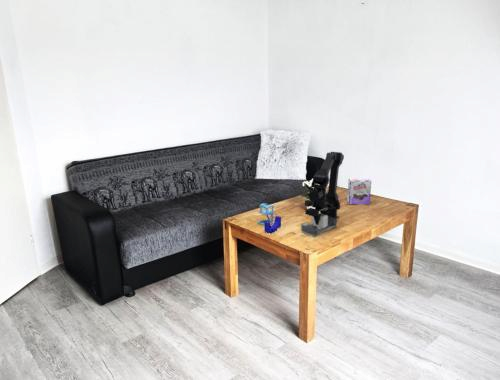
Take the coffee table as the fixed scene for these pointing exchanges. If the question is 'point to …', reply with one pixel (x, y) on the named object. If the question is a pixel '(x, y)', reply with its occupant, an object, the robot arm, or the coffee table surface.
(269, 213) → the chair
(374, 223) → the coffee table surface
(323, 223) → the module
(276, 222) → the cable clip
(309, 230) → the rail
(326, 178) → the robot arm
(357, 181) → the candy box
